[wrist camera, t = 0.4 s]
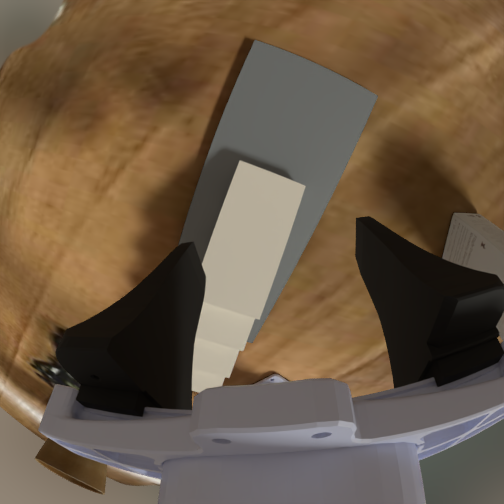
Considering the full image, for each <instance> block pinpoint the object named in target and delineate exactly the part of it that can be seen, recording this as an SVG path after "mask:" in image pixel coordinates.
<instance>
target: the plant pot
mask: <svg viewBox="0 0 504 504" xmlns="http://www.w3.org/2000/svg"><path fill="white" fill-rule="evenodd" d="M35 460H36V461H38V462H39V463H40V464H41V465H43V466H44V467H46V468H47V469H49V470H50V471H52V472H54V473H55V474H57V475H59V476H61V477H62V478H64V479H66V480H68V481H70V482H72V483H74V484H77V485H79V486H81V487H83V488H85V489H88V490H90V491H93V492H96V493H99V494H104V493H105V483H106V472H107V464H103V463H100V462H97V461H94V460H91V459H89V458H86V457H83V456H80V455H77V454H75V453H73V452H71V451H70V450H68V449H66V448H64V447H63V446H61V445H59V444H58V443H56V442H54V441H53V440H51V439H50V438H48V439H47V441H46V442H45V443H44V445H43V446H42V448H41V449H40V451H39V452H38V454H37V456H36V457H35Z"/></svg>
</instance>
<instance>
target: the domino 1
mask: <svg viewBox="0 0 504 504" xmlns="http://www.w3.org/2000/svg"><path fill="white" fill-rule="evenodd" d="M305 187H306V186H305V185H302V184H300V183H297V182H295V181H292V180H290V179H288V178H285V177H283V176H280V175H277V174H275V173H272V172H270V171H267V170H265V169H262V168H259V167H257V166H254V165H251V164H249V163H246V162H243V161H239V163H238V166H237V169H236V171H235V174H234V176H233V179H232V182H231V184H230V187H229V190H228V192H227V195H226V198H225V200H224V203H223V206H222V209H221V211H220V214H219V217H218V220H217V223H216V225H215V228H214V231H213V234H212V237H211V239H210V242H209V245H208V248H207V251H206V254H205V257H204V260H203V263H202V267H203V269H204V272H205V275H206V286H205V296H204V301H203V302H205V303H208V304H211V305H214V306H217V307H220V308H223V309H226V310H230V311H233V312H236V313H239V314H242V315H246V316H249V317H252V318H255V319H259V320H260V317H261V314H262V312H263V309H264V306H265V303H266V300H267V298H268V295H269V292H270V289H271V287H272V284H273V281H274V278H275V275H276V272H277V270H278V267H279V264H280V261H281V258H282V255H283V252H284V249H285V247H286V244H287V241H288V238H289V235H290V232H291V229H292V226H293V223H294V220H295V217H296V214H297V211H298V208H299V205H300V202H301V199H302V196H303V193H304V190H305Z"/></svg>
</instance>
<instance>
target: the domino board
mask: <svg viewBox="0 0 504 504" xmlns="http://www.w3.org/2000/svg"><path fill="white" fill-rule="evenodd" d="M377 97H378V96H377V95H376V94H374V93H372V92H370V91H369V90H367V89H365V88H363V87H362V86H360V85H358V84H356V83H354V82H352V81H351V80H349V79H347V78H345V77H343V76H341V75H339V74H337V73H335V72H333V71H331V70H329V69H327V68H325V67H322V66H320V65H318V64H316V63H314V62H311V61H309V60H307V59H305V58H302V57H300V56H297V55H295V54H292V53H290V52H287V51H285V50H282V49H280V48H277V47H274V46H271V45H269V44H266V43H263V42H260V41H257V40H255V41H254V43H253V45H252V47H251V49H250V52H249V54H248V56H247V58H246V60H245V63H244V65H243V67H242V70H241V72H240V74H239V76H238V79H237V81H236V83H235V86H234V88H233V91H232V93H231V95H230V98H229V100H228V103H227V105H226V108H225V110H224V113H223V115H222V118H221V120H220V123H219V126H218V128H217V131H216V133H215V136H214V139H213V141H212V144H211V147H210V150H209V152H208V155H207V158H206V161H205V164H204V166H203V169H202V172H201V175H200V178H199V181H198V184H197V187H196V190H195V193H194V196H193V199H192V202H191V205H190V208H189V212H188V215H187V218H186V221H185V224H184V228H183V231H182V234H181V238H180V241H179V245H180V244H181V243H187V242H193V241H194V244H195V247H196V250H197V253H198V255H199V258H200V261H201V264H202V263H203V260H204V257H205V254H206V251H207V248H208V245H209V242H210V239H211V237H212V234H213V231H214V228H215V225H216V223H217V220H218V217H219V214H220V211H221V209H222V206H223V203H224V200H225V198H226V195H227V192H228V190H229V187H230V184H231V182H232V179H233V176H234V174H235V171H236V169H237V166H238V163H239V161H243V162H246V163H249V164H251V165H254V166H257V167H259V168H262V169H265V170H267V171H270V172H272V173H275V174H277V175H280V176H283V177H285V178H288V179H290V180H292V181H295V182H297V183H300V184H302V185H305V186H306V187H305V190H304V193H303V196H302V199H301V202H300V205H299V208H298V211H297V214H296V217H295V220H294V223H293V226H292V229H291V232H290V235H289V238H288V241H287V244H286V247H285V249H284V252H283V255H282V258H281V261H280V264H279V267H278V270H277V272H276V275H275V278H274V281H273V284H272V287H271V289H270V292H269V295H268V298H267V300H266V303H265V306H264V309H263V312H262V314H261V317H260V320H259V319H255V320H254V323H253V326H252V329H251V331H250V334H249V337H248V339H247V342H250V343H253V341H254V339H255V337H256V336H257V334H258V332H259V330H260V329H261V327H262V325H263V324H264V322H265V320H266V318H267V316H268V315H269V313H270V311H271V309H272V308H273V306H274V304H275V302H276V301H277V299H278V297H279V295H280V293H281V292H282V290H283V288H284V286H285V284H286V282H287V281H288V279H289V277H290V275H291V273H292V271H293V270H294V268H295V266H296V264H297V262H298V260H299V258H300V256H301V255H302V253H303V251H304V249H305V247H306V245H307V243H308V241H309V239H310V237H311V236H312V234H313V232H314V230H315V228H316V226H317V224H318V222H319V220H320V218H321V216H322V214H323V212H324V210H325V208H326V206H327V204H328V202H329V200H330V198H331V196H332V194H333V192H334V190H335V188H336V186H337V184H338V182H339V180H340V178H341V176H342V174H343V172H344V170H345V167H346V165H347V163H348V161H349V159H350V157H351V155H352V153H353V151H354V148H355V146H356V144H357V142H358V140H359V138H360V135H361V133H362V131H363V129H364V127H365V124H366V122H367V120H368V118H369V116H370V113H371V111H372V109H373V106H374V104H375V102H376V100H377ZM179 245H178V246H179Z"/></svg>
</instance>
